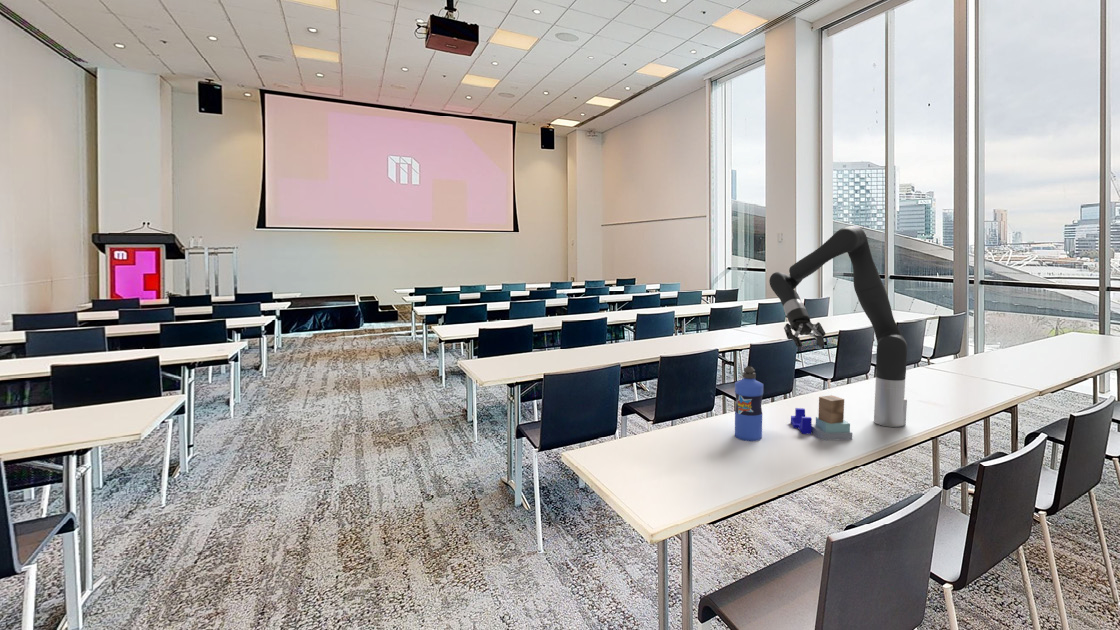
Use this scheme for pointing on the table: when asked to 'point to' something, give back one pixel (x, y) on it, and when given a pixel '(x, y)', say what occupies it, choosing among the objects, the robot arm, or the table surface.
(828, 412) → the walnut block
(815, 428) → the slate base slab
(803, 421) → the cable clip
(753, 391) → the water bottle
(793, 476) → the table surface
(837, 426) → the teal top slab
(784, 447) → the table surface
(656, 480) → the table surface
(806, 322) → the robot arm
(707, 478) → the table surface
